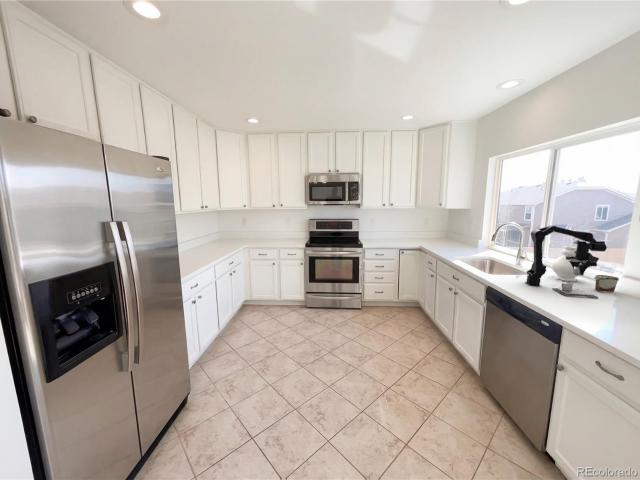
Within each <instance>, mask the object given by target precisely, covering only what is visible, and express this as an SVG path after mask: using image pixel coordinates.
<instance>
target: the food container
mask: <svg viewBox="0 0 640 480" xmlns="http://www.w3.org/2000/svg"><path fill="white" fill-rule="evenodd" d="M593 279H595V285H594V290H595V291H596V292H597V293H598V292H599V293H614V292H615V289H616V287H617V284H618V282H619V281H620V278H619V277H617V276H613V275H607V274H596V275H595V276H594V278H593Z"/></svg>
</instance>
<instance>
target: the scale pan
mask: <svg viewBox="0 0 640 480" xmlns="http://www.w3.org/2000/svg"><path fill="white" fill-rule="evenodd" d="M555 288H556V289H558V290H559V291H561V292H563V293H565V294H578V295H592V296H596V295H595V294H594V293H591V292H590V291H587V290H586V289H582V288H581V289H579V288H577V289H576V288H572V292H566V291H562V290H561V287H555Z"/></svg>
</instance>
